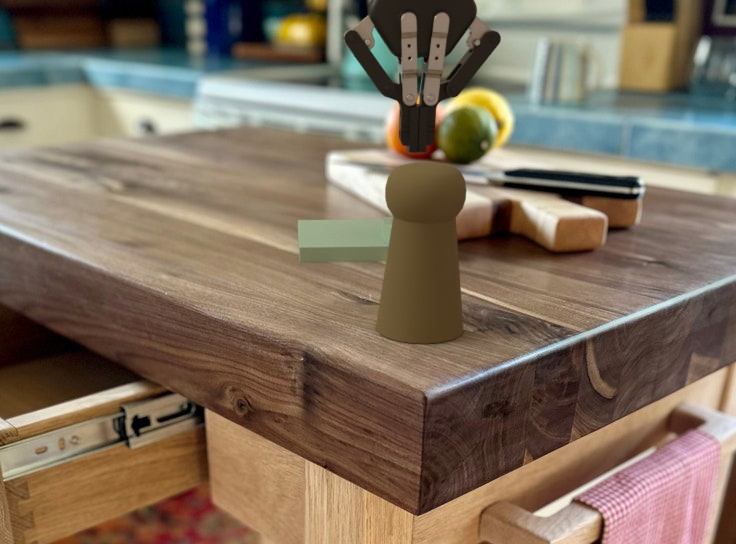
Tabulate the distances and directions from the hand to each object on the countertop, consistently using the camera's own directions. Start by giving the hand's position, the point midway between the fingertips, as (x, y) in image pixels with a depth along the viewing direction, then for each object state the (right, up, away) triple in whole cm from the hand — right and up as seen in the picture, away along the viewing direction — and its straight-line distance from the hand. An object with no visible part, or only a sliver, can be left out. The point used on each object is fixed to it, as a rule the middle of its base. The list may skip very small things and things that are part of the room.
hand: (416, 151), depth 73 cm
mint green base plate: (-4, -7, +6) cm, 10 cm away
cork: (-1, -16, -13) cm, 21 cm away
